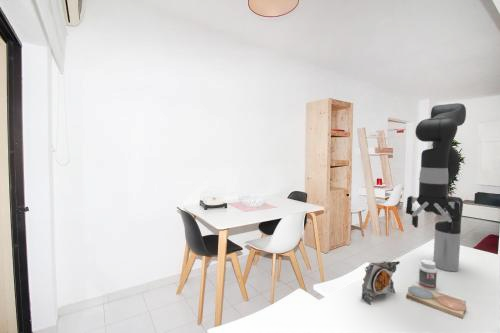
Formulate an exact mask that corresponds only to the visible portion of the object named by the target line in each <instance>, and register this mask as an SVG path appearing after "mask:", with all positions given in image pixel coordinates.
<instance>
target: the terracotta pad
mask: <svg viewBox="0 0 500 333" xmlns="http://www.w3.org/2000/svg"><path fill="white" fill-rule="evenodd" d="M448 296H449V295H448ZM448 296H439V297H437V301H438V302H439V303H440V304H441V305H443V306H444V307H447V308H449V309H452V310H456V311H464V312H465V311H466V310H467V305H465V304H464V303H463V302H461V301H459V300H457V299H458V298H457V299H455V298H456V297H454V298H452V297H453V296H451V297H448Z"/></svg>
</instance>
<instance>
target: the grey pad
mask: <svg viewBox="0 0 500 333" xmlns="http://www.w3.org/2000/svg"><path fill="white" fill-rule="evenodd" d="M417 286H418V285H417ZM417 286H412V285H410V286H409V287H408V288H407V293H408V292H409V293H410V294H412V295H413V296H415V297H418V298H421V299H433V298H434V295H433V293H432V292H430V291H429V290H430V289H429V290H427V289H424V287H423V288H422V286H420V287H417Z"/></svg>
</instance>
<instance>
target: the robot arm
mask: <svg viewBox="0 0 500 333" xmlns="http://www.w3.org/2000/svg"><path fill="white" fill-rule="evenodd" d="M466 118H467V107H466V105H464V104H462V103H459V102H458V103H456V102H455V103H447V104H446V103H445V104H438V105H434V106H433V107H432V108H431V111H430V118H426V119H422V120H421V121H419V122H418V124H417V125H416V127H415V130H414V131H415V136H416V138H417V140H419V141H421V142H426V143H427V142H430V143H431V142H432V148H427V149H424V150H422V152H421V157H420V158H421V159H420V171H419V178H418V180H419V181H418V183H419V184H418V185H419V186H418V187H419V188H418V196H417V197H415V196H412V195H409V196H408V197H407V198H406V200H407V201H406V209H405V213H406V214H408V215H411V218H412V220H411V225H412V226H413V227H414V228H418V227H419V214H420V213H421V212H422V211H425V212H426V213H431V212H432V213H433V214H434V215H438V216H442V217H443V218H444V219H445V221H444V220H443V221H438V222H436V223H435V225H434V243H433V257H432V258H433V260H432V261H433V262H435V264H436V265H435V268H437V269H440V270H442V271H447V272H458V271H459V269H460V268H459V266H460V248H461V230H462V227H461V226H462V215H463V208H464V201H463V199H462V198H461V197H459V196H451V195H450V196H449V195H448V193H449V192H448V191H449V184H450V183H451V182H452V181H453V179H455V177H456V176H457V175H458V173H459V172H460V154H459V153H458V152H457V150H456V149H455V148H454V146H452V144H453V142H454V140H455V137H456V135H457V132H458V127H460V126H462V125H463V124H465V121H466ZM415 202H417V203H418V204H419V205H420V206H419V207H418V208H417V209H416V210H413V204H414V203H415Z"/></svg>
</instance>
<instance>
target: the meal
mask: <svg viewBox="0 0 500 333" xmlns="http://www.w3.org/2000/svg"><path fill="white" fill-rule="evenodd" d="M400 263H401V262H400V261H399V260H397V261H383V260H382V261H376V262H371V263H369V264H368V266H366V267H365V268H364V271H365V275H364V278H362V280H363V283H362V284H361V286H362V288H361V290H362V291H361V292H362V293H361V299H362V301H363V302H365V303H366V304H368V305H370V306H371V300H372V301H373V300H374V298H375V297H376V296H377V295H383V294H384V295H386V294H387V293H394V294H395V293H396V289H395V287H394V283H395V282H394V280H393V274H394V273H396V271H397V266H398V265H400Z"/></svg>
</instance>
